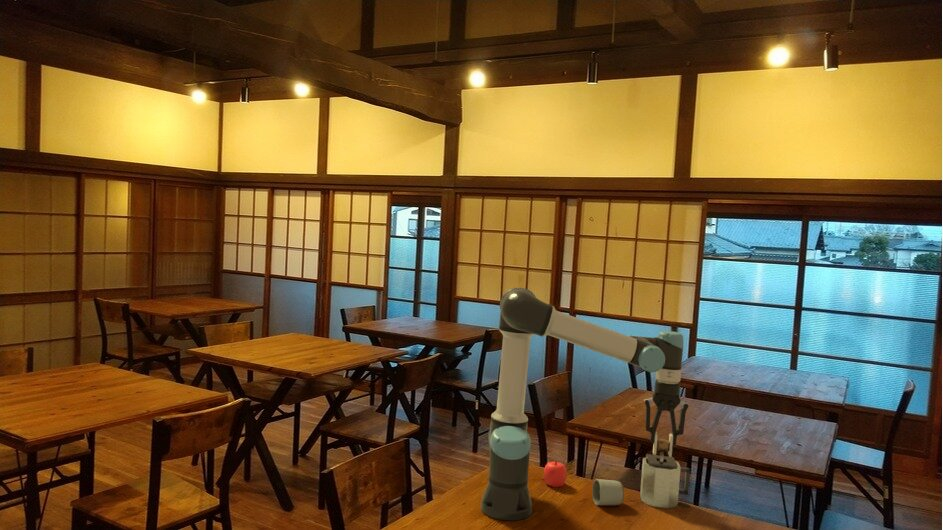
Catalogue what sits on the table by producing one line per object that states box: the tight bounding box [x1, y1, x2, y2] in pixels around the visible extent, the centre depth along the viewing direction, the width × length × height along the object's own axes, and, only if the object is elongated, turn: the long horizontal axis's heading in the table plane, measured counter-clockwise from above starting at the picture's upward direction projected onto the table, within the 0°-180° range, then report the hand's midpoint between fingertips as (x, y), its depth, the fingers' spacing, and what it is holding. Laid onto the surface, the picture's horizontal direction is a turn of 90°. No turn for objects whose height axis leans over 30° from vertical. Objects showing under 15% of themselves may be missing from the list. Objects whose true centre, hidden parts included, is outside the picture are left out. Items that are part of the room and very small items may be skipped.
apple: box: [543, 460, 568, 488], centre depth 218 cm, size 8×8×8 cm
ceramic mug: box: [591, 478, 625, 506], centre depth 206 cm, size 11×8×8 cm
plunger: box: [656, 438, 670, 468], centre depth 208 cm, size 8×8×18 cm
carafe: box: [639, 454, 691, 510], centre depth 208 cm, size 14×11×13 cm
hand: (662, 454), depth 208 cm, fingers closed on plunger, 4 cm apart
